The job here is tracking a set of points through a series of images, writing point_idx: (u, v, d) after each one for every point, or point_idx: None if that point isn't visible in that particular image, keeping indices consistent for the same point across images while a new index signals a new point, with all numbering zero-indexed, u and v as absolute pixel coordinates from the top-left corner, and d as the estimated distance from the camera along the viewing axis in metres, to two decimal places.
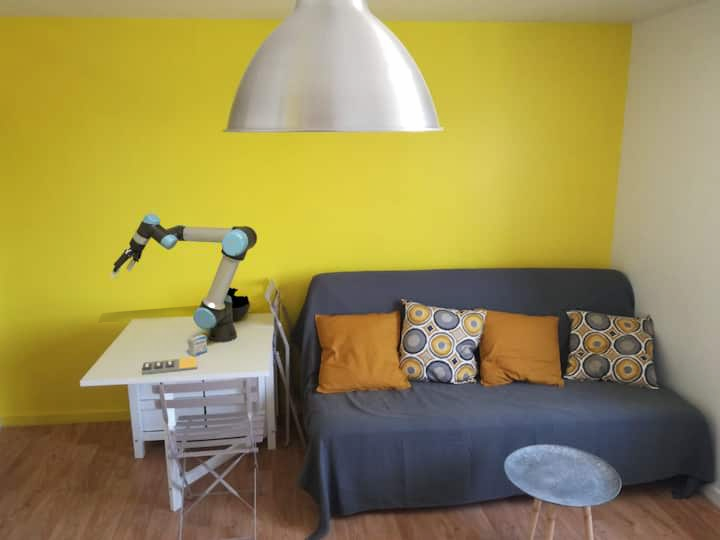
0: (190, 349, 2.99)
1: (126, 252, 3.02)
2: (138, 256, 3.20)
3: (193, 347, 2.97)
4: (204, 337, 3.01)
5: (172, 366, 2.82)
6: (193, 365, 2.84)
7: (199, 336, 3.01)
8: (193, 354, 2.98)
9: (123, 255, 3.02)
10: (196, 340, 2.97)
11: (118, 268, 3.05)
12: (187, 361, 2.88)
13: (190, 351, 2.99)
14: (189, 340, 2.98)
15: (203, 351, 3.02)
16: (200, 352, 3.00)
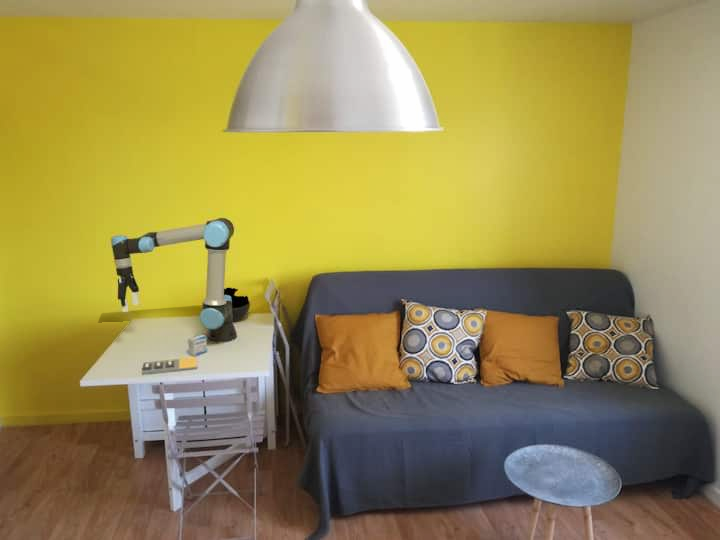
0: (190, 349, 2.99)
1: (120, 281, 2.97)
2: None
3: (193, 347, 2.97)
4: (204, 337, 3.01)
5: (172, 366, 2.82)
6: (193, 365, 2.84)
7: (199, 336, 3.01)
8: (193, 354, 2.98)
9: (119, 285, 2.96)
10: (196, 340, 2.97)
11: (124, 300, 2.98)
12: (187, 361, 2.88)
13: (190, 351, 2.99)
14: (189, 340, 2.98)
15: (203, 351, 3.02)
16: (200, 352, 3.00)
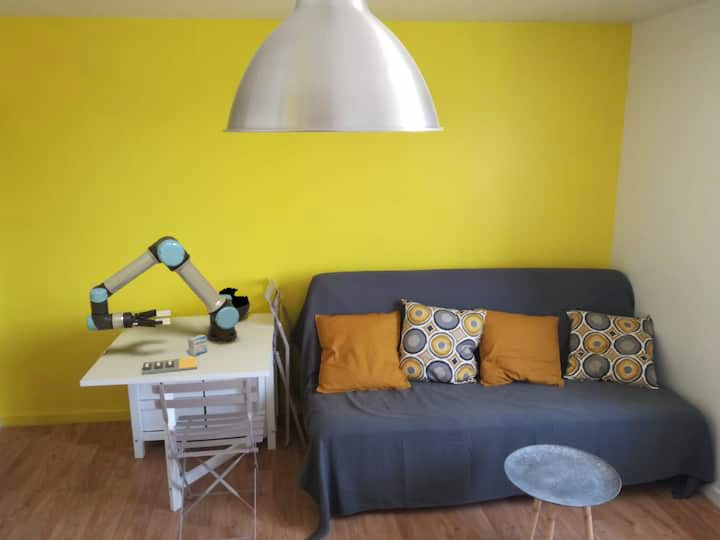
0: (190, 349, 2.99)
1: (135, 323, 2.84)
2: None
3: (193, 347, 2.97)
4: (204, 337, 3.01)
5: (172, 366, 2.82)
6: (193, 365, 2.84)
7: (199, 336, 3.01)
8: (193, 354, 2.98)
9: (139, 324, 2.84)
10: (196, 340, 2.97)
11: (157, 320, 2.86)
12: (187, 361, 2.88)
13: (190, 351, 2.99)
14: (189, 340, 2.98)
15: (203, 351, 3.02)
16: (200, 352, 3.00)
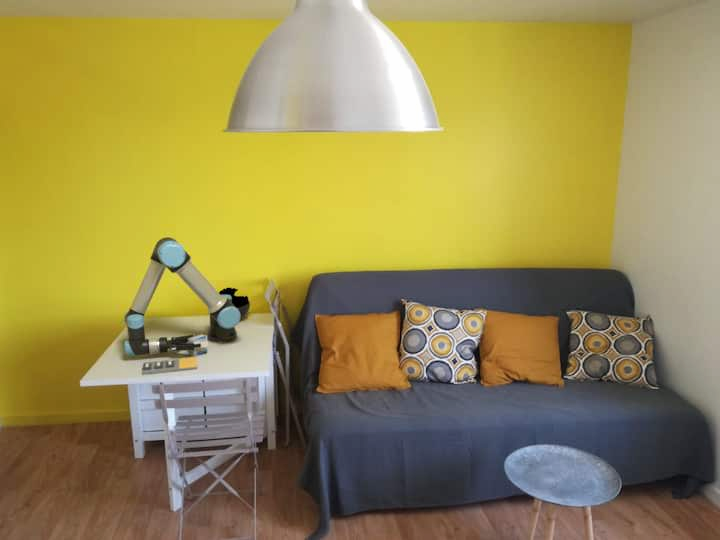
0: None
1: (173, 348, 2.91)
2: (189, 337, 3.06)
3: None
4: (204, 337, 3.01)
5: (172, 366, 2.82)
6: (193, 365, 2.84)
7: (199, 336, 3.01)
8: (193, 354, 2.98)
9: (178, 348, 2.92)
10: (196, 340, 2.97)
11: (195, 343, 2.96)
12: (187, 361, 2.88)
13: (190, 351, 2.99)
14: (189, 340, 2.98)
15: (203, 351, 3.02)
16: (200, 352, 3.00)
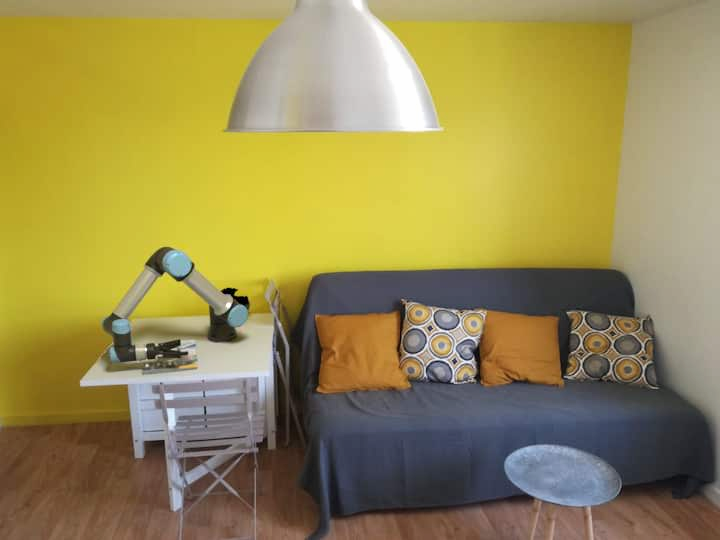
0: None
1: (159, 355, 2.76)
2: None
3: (182, 356, 2.83)
4: (194, 345, 2.87)
5: (172, 366, 2.82)
6: (193, 365, 2.84)
7: (189, 344, 2.86)
8: (182, 363, 2.83)
9: (164, 356, 2.76)
10: (185, 348, 2.82)
11: (182, 351, 2.79)
12: None
13: (179, 360, 2.84)
14: (178, 348, 2.83)
15: (193, 360, 2.87)
16: (189, 361, 2.86)
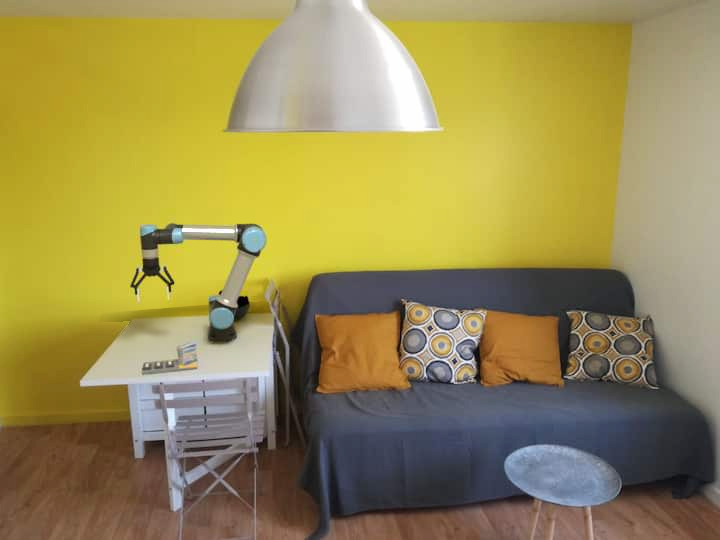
0: (179, 358, 2.84)
1: (136, 269, 2.93)
2: None
3: (182, 356, 2.83)
4: (194, 345, 2.87)
5: (172, 366, 2.82)
6: (193, 365, 2.84)
7: (189, 344, 2.86)
8: (182, 363, 2.83)
9: None
10: (185, 348, 2.82)
11: None
12: None
13: (179, 360, 2.84)
14: (178, 348, 2.83)
15: (193, 360, 2.87)
16: (189, 361, 2.86)
